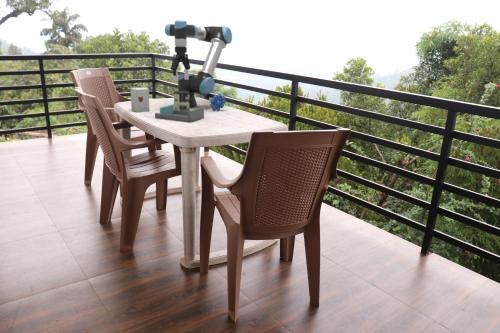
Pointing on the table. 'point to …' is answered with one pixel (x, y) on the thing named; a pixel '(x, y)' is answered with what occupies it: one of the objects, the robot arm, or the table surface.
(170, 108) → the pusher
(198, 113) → the lane
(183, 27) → the robot arm
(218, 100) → the grapes
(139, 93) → the supplement box
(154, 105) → the table surface
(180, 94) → the coffee can
